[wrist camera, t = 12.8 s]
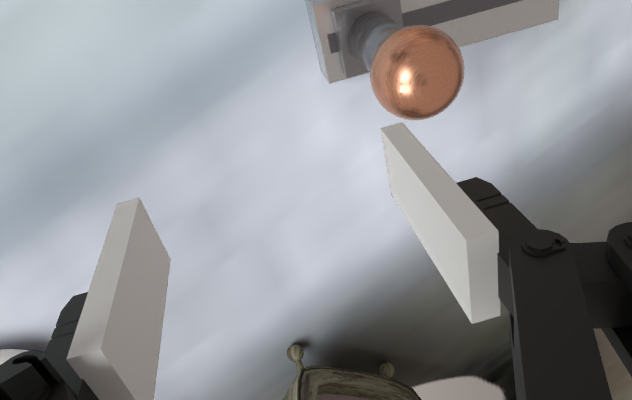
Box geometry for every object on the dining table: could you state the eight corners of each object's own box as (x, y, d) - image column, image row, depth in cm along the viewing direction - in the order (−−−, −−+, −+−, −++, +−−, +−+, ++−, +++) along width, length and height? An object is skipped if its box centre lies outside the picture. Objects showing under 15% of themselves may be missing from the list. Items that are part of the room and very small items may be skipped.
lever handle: (326, 7, 30) (379, 52, 20) (395, -12, 30) (479, 24, 20) (340, 76, 32) (392, 145, 23) (404, 58, 32) (482, 119, 23)
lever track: (304, -3, 32) (313, 5, 29) (534, -66, 33) (562, -64, 30) (320, 70, 35) (329, 83, 32) (533, 11, 35) (558, 19, 33)
